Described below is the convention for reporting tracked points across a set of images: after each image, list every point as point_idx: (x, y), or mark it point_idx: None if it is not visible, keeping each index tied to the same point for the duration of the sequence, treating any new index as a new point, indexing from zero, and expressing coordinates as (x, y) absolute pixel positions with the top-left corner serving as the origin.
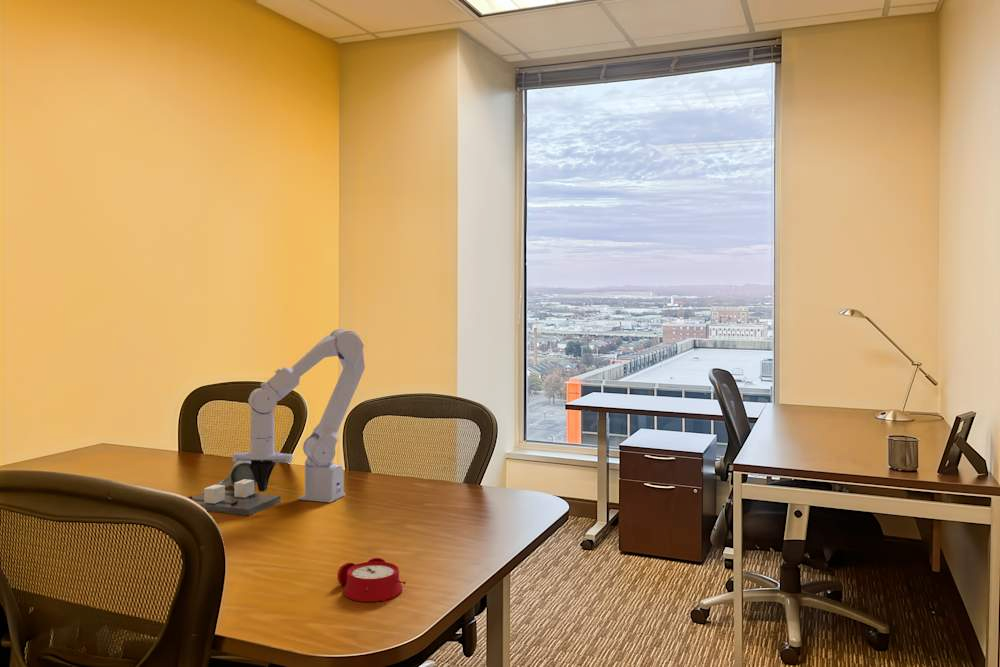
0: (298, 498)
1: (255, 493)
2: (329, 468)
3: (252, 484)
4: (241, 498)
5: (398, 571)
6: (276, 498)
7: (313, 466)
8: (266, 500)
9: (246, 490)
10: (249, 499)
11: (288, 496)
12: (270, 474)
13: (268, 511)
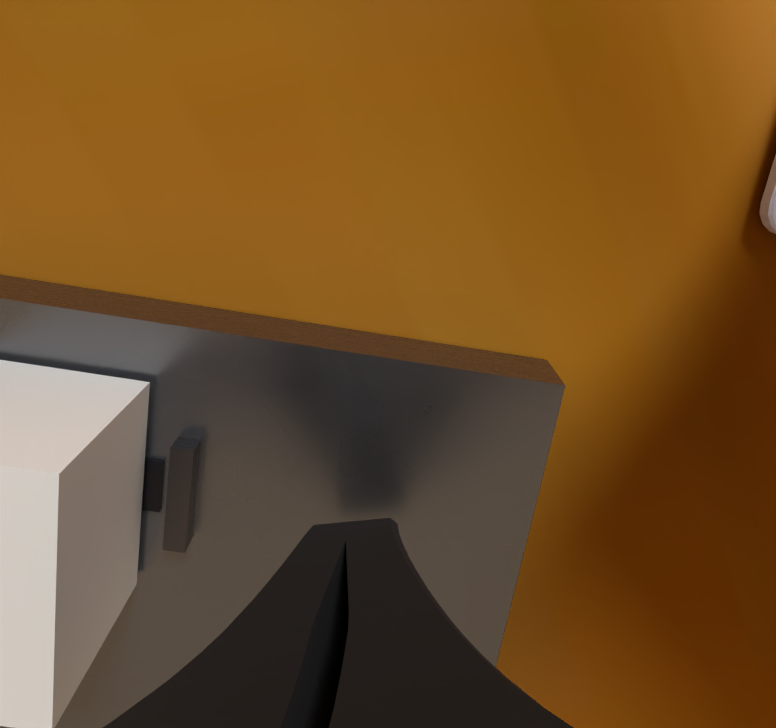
0: (774, 233)
1: (134, 318)
2: None
3: (85, 490)
4: None
5: None
6: (540, 469)
7: None
8: (464, 608)
9: (103, 601)
10: (226, 604)
11: (552, 56)
12: (469, 645)
13: (556, 713)
